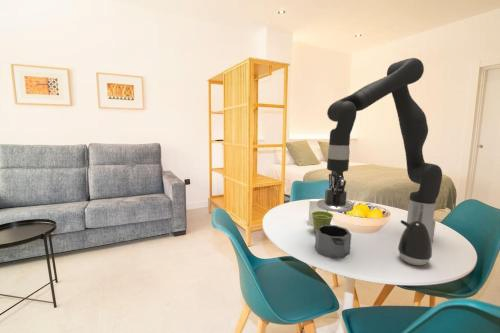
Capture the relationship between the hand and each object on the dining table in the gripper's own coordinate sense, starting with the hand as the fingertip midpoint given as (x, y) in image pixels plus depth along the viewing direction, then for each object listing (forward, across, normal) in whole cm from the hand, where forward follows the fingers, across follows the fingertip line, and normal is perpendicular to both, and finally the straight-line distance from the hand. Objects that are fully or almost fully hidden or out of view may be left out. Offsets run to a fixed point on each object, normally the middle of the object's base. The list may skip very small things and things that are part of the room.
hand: (335, 202), depth 99 cm
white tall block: (+19, +28, -1) cm, 34 cm away
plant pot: (+19, +17, 0) cm, 26 cm away
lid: (+1, 0, 0) cm, 1 cm away
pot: (+19, 0, 0) cm, 19 cm away
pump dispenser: (+19, -7, -27) cm, 34 cm away
